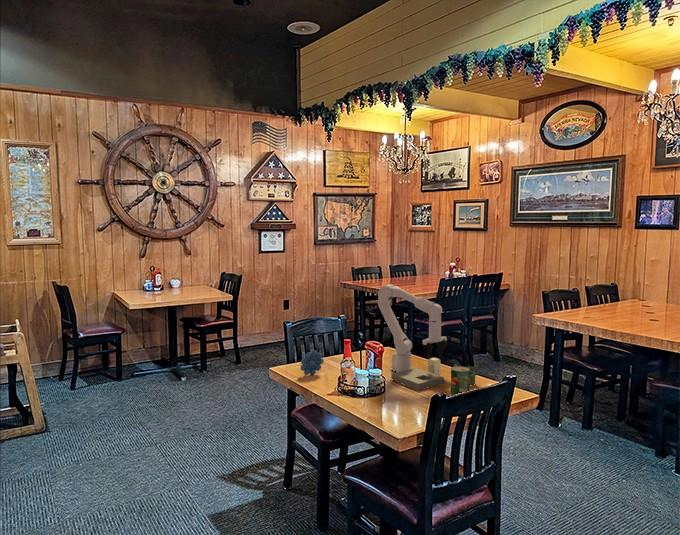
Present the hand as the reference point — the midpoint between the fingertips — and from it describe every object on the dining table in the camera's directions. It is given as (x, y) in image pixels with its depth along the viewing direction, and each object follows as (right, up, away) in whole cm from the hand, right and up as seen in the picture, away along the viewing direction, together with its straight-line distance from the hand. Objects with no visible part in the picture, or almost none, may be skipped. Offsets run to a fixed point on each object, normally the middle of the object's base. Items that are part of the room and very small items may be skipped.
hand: (434, 357), depth 241 cm
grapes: (-59, -9, +2) cm, 60 cm away
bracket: (+12, -10, -11) cm, 20 cm away
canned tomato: (+6, -11, -25) cm, 28 cm away
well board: (-10, -10, -10) cm, 17 cm away
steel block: (0, -9, +1) cm, 9 cm away
